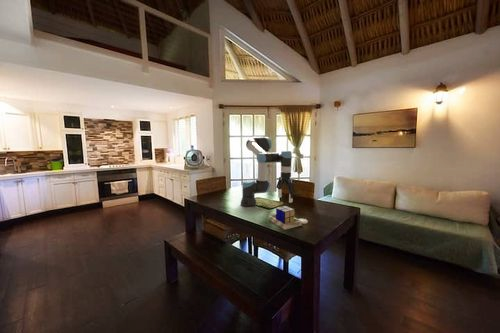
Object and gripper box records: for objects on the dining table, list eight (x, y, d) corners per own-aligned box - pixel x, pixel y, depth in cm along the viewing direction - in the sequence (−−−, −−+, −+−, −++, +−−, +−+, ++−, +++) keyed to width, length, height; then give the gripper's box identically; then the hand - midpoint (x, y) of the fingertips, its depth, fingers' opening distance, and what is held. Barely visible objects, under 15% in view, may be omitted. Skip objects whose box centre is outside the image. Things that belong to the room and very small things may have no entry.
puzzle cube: (275, 220, 160) (275, 208, 158) (285, 218, 165) (285, 205, 164) (284, 225, 151) (284, 212, 150) (294, 222, 157) (294, 209, 156)
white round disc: (294, 220, 162) (294, 219, 162) (302, 218, 165) (302, 218, 165) (301, 224, 155) (301, 223, 155) (310, 222, 158) (310, 221, 158)
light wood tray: (268, 219, 164) (268, 215, 164) (284, 216, 171) (284, 212, 171) (284, 229, 146) (284, 225, 146) (301, 225, 153) (301, 221, 153)
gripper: (272, 169, 163) (271, 196, 166) (292, 175, 141) (291, 205, 144) (280, 169, 166) (279, 195, 169) (301, 174, 144) (300, 203, 147)
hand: (285, 199), depth 156 cm, fingers open, 13 cm apart
